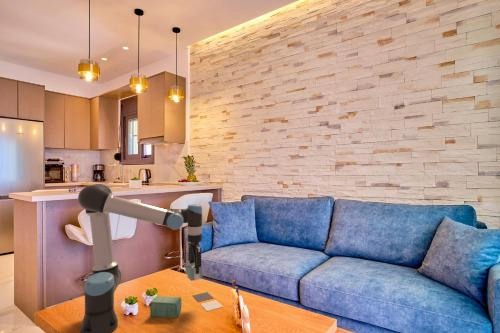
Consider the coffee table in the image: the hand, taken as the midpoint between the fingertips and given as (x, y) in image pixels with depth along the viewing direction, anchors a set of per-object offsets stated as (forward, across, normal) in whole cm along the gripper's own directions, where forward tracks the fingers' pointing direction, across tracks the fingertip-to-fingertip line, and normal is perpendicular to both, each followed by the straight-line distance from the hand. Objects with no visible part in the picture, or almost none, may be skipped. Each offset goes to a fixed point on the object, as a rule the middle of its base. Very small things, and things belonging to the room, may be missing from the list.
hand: (194, 277), depth 155 cm
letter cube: (0, 0, 0) cm, 0 cm away
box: (+15, -2, +15) cm, 21 cm away
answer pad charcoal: (+14, +6, -7) cm, 17 cm away
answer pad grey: (+14, -6, -7) cm, 17 cm away
